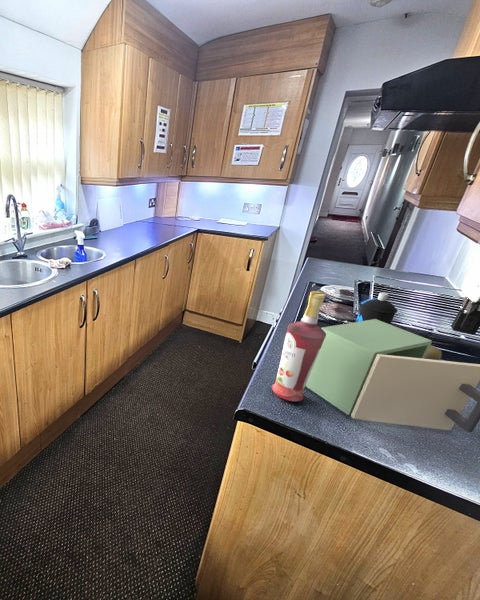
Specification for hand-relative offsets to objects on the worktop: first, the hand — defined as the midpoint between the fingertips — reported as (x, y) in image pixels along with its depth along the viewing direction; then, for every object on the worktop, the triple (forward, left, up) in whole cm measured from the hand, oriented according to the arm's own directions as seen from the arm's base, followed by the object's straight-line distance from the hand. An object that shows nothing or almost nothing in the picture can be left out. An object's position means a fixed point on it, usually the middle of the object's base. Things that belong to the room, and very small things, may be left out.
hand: (462, 331), depth 66 cm
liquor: (+26, +5, -23) cm, 35 cm away
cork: (-5, -19, -23) cm, 30 cm away
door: (+3, +7, -23) cm, 24 cm away
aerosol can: (+4, -31, -23) cm, 38 cm away
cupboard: (+11, -5, -23) cm, 26 cm away
